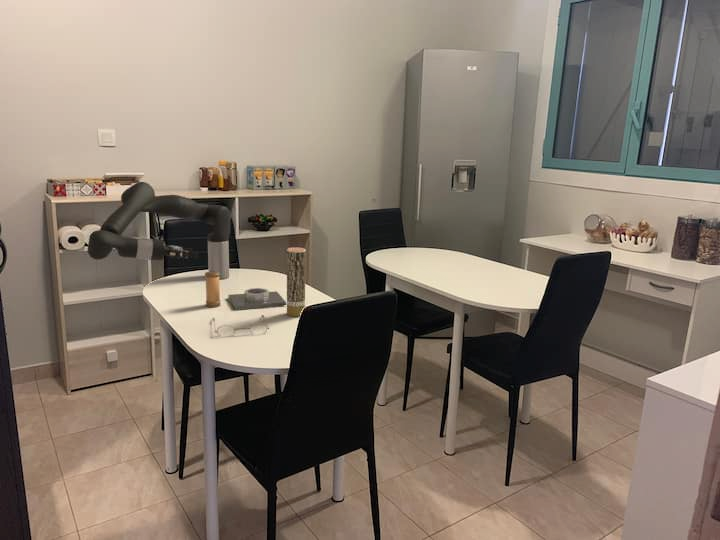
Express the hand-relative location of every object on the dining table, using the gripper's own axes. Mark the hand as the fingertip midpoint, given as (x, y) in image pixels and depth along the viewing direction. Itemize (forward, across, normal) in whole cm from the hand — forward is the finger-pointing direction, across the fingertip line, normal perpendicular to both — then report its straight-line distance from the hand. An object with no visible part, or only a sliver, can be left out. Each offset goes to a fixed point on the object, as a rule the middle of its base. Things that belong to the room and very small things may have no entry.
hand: (195, 253), depth 210 cm
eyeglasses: (+13, -24, +22) cm, 35 cm away
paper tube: (+35, -20, +17) cm, 44 cm away
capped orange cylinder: (+10, +2, +20) cm, 22 cm away
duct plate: (+26, 0, +17) cm, 32 cm away
